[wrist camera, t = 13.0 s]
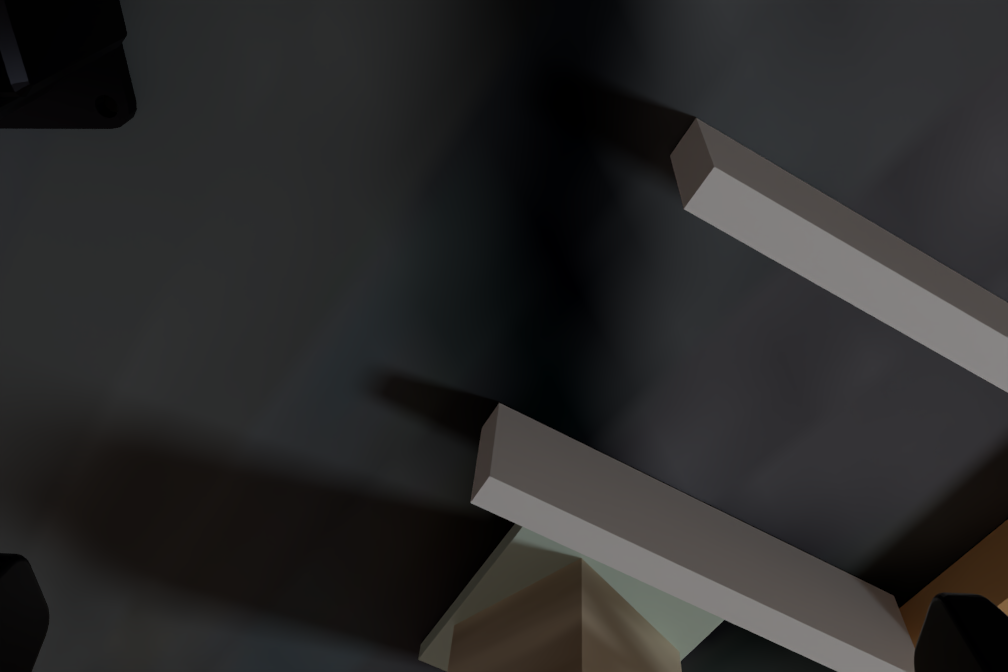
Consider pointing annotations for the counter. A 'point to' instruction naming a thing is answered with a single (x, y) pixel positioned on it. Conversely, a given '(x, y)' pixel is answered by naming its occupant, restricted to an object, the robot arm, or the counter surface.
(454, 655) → the beech block
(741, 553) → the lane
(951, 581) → the trap tray
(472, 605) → the pad
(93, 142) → the counter surface
